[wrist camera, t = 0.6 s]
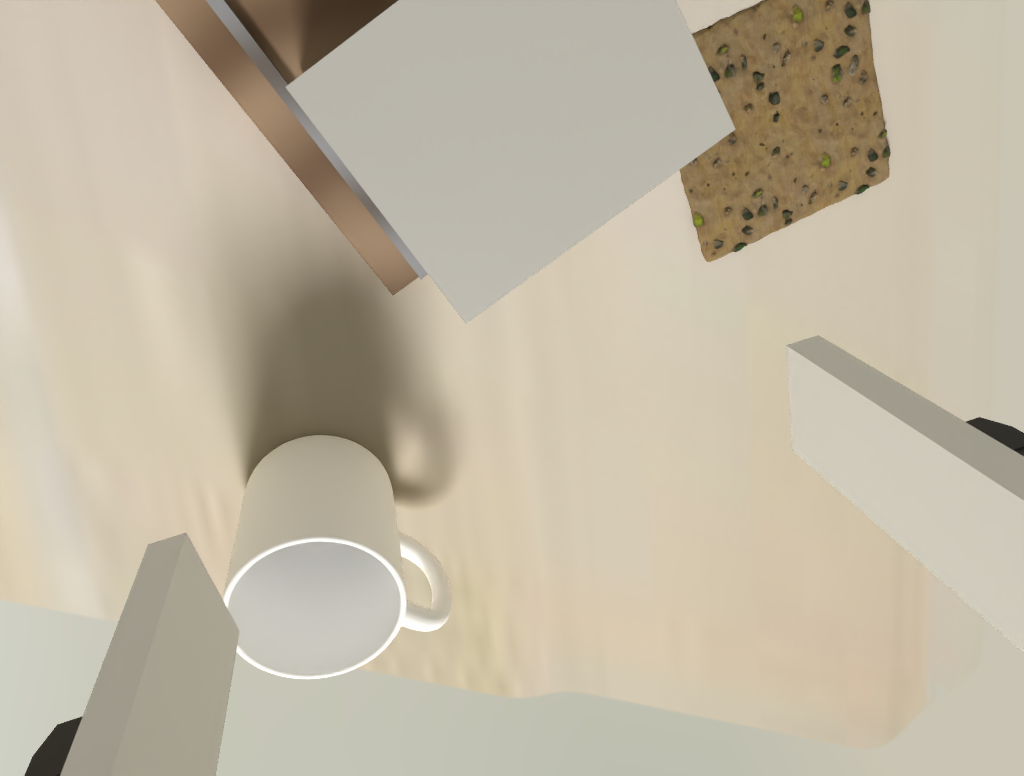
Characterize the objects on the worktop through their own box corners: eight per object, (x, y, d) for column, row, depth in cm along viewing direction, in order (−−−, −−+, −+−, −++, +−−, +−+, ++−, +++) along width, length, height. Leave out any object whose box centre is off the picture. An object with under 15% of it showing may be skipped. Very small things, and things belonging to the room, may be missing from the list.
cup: (283, 407, 40) (268, 511, 31) (470, 484, 45) (504, 594, 36) (221, 524, 42) (190, 653, 33) (406, 586, 47) (422, 714, 38)
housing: (299, 76, 32) (285, 87, 23) (525, -97, 31) (603, -157, 22) (433, 255, 37) (465, 323, 28) (633, 109, 36) (735, 129, 27)
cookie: (854, -48, 37) (866, -50, 36) (886, 177, 43) (897, 180, 42) (641, 51, 37) (648, 51, 36) (701, 264, 42) (709, 268, 42)
